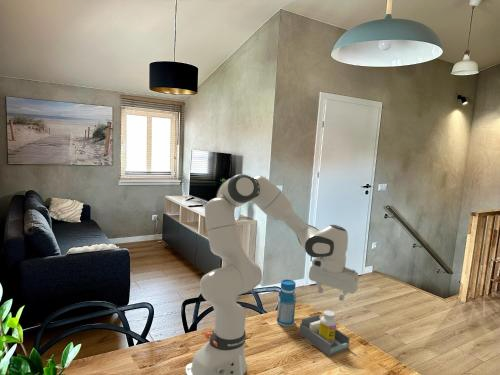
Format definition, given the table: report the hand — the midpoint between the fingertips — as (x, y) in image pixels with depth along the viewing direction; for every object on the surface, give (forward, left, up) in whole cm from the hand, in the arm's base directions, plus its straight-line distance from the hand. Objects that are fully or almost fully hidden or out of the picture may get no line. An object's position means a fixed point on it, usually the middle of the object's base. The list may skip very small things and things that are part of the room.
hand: (330, 296), depth 141 cm
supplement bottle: (+1, +1, -21) cm, 21 cm away
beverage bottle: (-4, +23, -22) cm, 32 cm away
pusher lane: (+1, +3, -22) cm, 22 cm away
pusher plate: (+1, +6, -21) cm, 21 cm away
